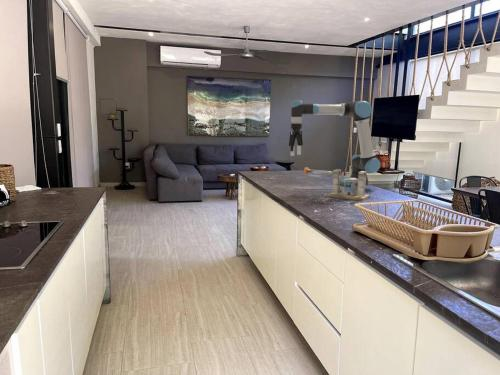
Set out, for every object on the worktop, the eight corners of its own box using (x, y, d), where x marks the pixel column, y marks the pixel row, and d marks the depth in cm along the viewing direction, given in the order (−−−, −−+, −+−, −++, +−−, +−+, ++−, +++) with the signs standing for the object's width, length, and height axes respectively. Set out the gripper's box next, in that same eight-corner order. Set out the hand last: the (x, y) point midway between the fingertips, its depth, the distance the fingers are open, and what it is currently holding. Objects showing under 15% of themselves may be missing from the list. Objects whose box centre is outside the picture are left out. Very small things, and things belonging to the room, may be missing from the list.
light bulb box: (343, 196, 245) (344, 179, 243) (338, 194, 251) (339, 178, 249) (358, 195, 248) (359, 179, 246) (353, 193, 254) (353, 177, 252)
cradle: (335, 193, 262) (336, 168, 259) (369, 197, 249) (371, 170, 245) (327, 196, 251) (328, 170, 248) (362, 201, 237) (364, 173, 234)
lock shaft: (306, 173, 268) (306, 166, 267) (338, 176, 254) (338, 169, 253) (303, 174, 264) (303, 167, 263) (335, 177, 250) (335, 170, 249)
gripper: (298, 122, 274) (298, 153, 279) (283, 123, 257) (283, 156, 261) (308, 123, 270) (307, 154, 274) (293, 123, 253) (293, 156, 257)
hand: (295, 155), depth 268 cm, fingers open, 9 cm apart
